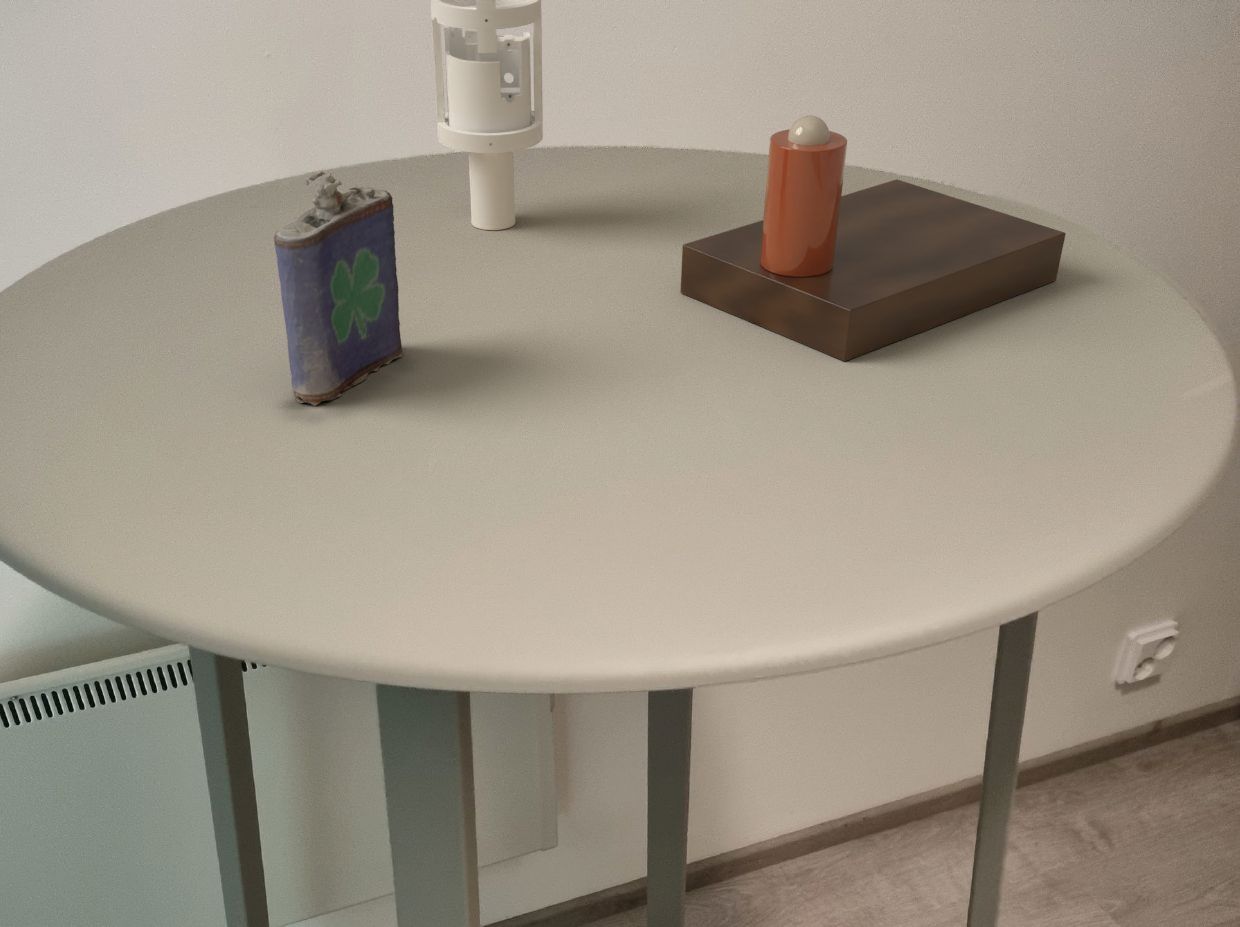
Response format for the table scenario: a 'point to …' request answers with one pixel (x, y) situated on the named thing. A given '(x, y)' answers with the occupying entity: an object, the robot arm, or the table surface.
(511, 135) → the white cylindrical fitting
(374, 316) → the flask
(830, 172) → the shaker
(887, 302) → the board
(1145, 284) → the table surface
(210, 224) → the table surface
